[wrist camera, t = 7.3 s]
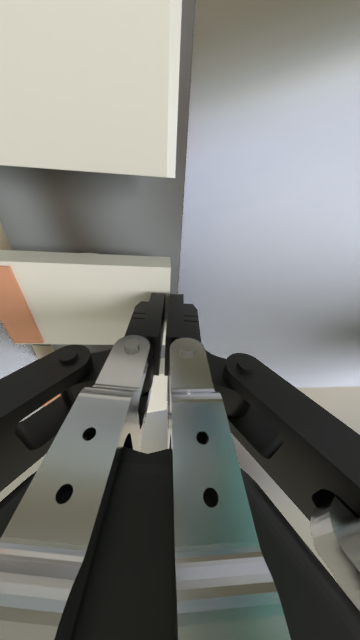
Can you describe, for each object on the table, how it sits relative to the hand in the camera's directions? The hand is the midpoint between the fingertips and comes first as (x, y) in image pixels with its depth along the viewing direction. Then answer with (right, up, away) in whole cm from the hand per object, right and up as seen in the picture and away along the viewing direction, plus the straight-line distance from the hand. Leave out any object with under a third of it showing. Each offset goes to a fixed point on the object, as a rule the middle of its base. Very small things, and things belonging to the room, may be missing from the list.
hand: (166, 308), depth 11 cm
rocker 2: (-5, +1, +2) cm, 5 cm away
